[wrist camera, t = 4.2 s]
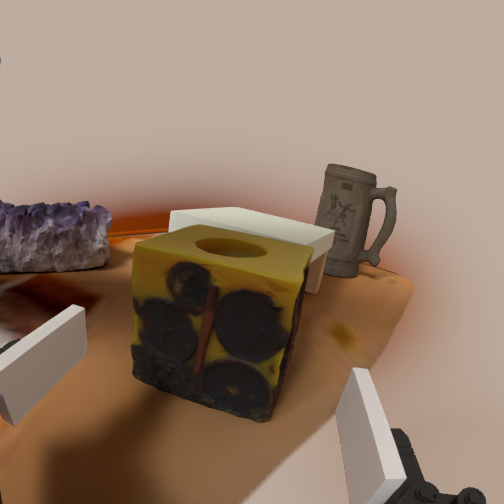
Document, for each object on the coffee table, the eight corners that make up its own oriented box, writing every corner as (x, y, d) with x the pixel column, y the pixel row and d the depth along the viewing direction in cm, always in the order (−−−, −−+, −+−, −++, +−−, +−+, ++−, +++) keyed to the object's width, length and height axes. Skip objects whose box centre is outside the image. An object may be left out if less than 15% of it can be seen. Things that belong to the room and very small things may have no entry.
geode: (-29, 288, 24) (-36, 196, 22) (-23, 267, 32) (-27, 196, 30) (122, 268, 38) (121, 189, 37) (95, 253, 46) (95, 190, 44)
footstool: (163, 284, 38) (171, 210, 36) (226, 261, 52) (235, 206, 50) (285, 330, 32) (305, 245, 30) (321, 290, 46) (335, 230, 44)
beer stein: (292, 264, 57) (321, 157, 52) (309, 256, 66) (334, 165, 61) (371, 294, 51) (405, 182, 46) (376, 280, 60) (405, 186, 55)
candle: (291, 354, 27) (318, 247, 25) (269, 429, 18) (309, 284, 15) (186, 325, 29) (199, 221, 27) (128, 379, 20) (130, 240, 17)
